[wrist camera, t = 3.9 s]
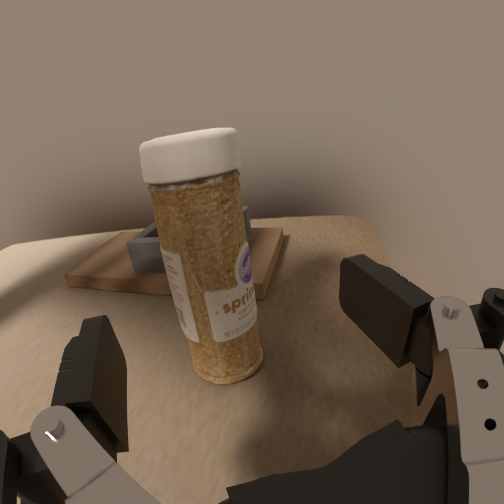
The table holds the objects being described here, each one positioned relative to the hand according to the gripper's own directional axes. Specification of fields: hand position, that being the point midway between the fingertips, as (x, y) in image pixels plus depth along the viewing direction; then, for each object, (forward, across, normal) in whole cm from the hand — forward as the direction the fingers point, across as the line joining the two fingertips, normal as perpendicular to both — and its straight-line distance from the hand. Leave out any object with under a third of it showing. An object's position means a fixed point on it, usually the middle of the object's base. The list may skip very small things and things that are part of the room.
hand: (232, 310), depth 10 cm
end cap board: (+22, +2, +8) cm, 24 cm away
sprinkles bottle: (+6, 0, +8) cm, 10 cm away
